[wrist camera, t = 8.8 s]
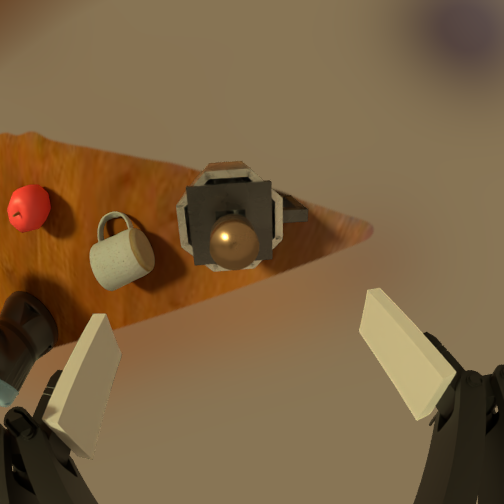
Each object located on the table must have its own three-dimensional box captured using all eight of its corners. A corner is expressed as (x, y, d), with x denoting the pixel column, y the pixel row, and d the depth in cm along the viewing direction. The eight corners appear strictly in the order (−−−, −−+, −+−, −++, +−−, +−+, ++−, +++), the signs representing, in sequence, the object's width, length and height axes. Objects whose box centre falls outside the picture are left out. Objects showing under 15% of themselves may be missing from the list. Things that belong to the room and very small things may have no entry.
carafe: (193, 236, 42) (184, 277, 30) (187, 164, 37) (171, 175, 25) (284, 230, 43) (310, 266, 31) (284, 159, 39) (313, 167, 26)
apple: (19, 197, 34) (-8, 208, 27) (43, 170, 34) (15, 179, 27) (38, 232, 38) (13, 249, 30) (63, 209, 37) (38, 223, 30)
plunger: (203, 229, 39) (193, 292, 23) (198, 176, 36) (181, 205, 20) (255, 225, 40) (280, 284, 24) (253, 173, 37) (281, 198, 21)
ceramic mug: (161, 259, 42) (151, 281, 35) (122, 277, 43) (107, 300, 36) (131, 200, 38) (113, 212, 31) (92, 222, 39) (70, 238, 32)
